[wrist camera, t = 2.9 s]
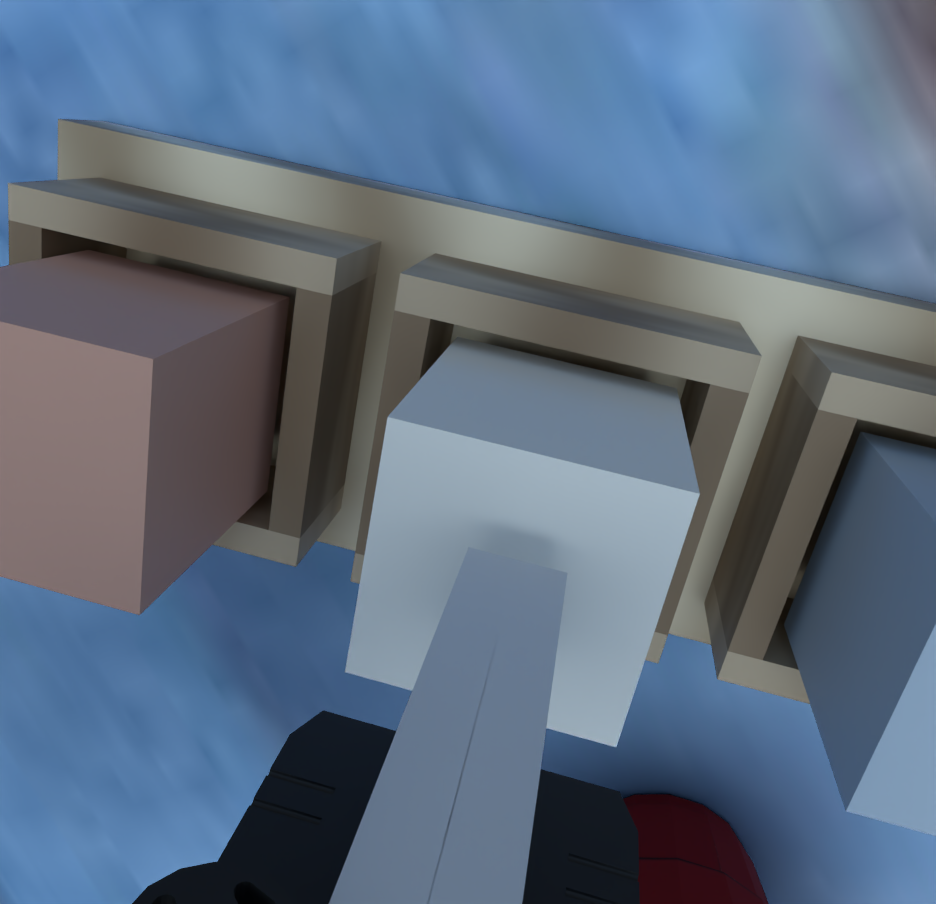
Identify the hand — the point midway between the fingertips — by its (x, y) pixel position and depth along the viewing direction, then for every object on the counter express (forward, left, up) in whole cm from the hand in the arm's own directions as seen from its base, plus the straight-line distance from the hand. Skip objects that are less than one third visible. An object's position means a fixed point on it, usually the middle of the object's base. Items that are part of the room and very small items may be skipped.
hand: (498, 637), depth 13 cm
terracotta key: (-9, 0, -7) cm, 12 cm away
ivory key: (0, 0, -7) cm, 7 cm away
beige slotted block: (0, 0, -12) cm, 12 cm away
